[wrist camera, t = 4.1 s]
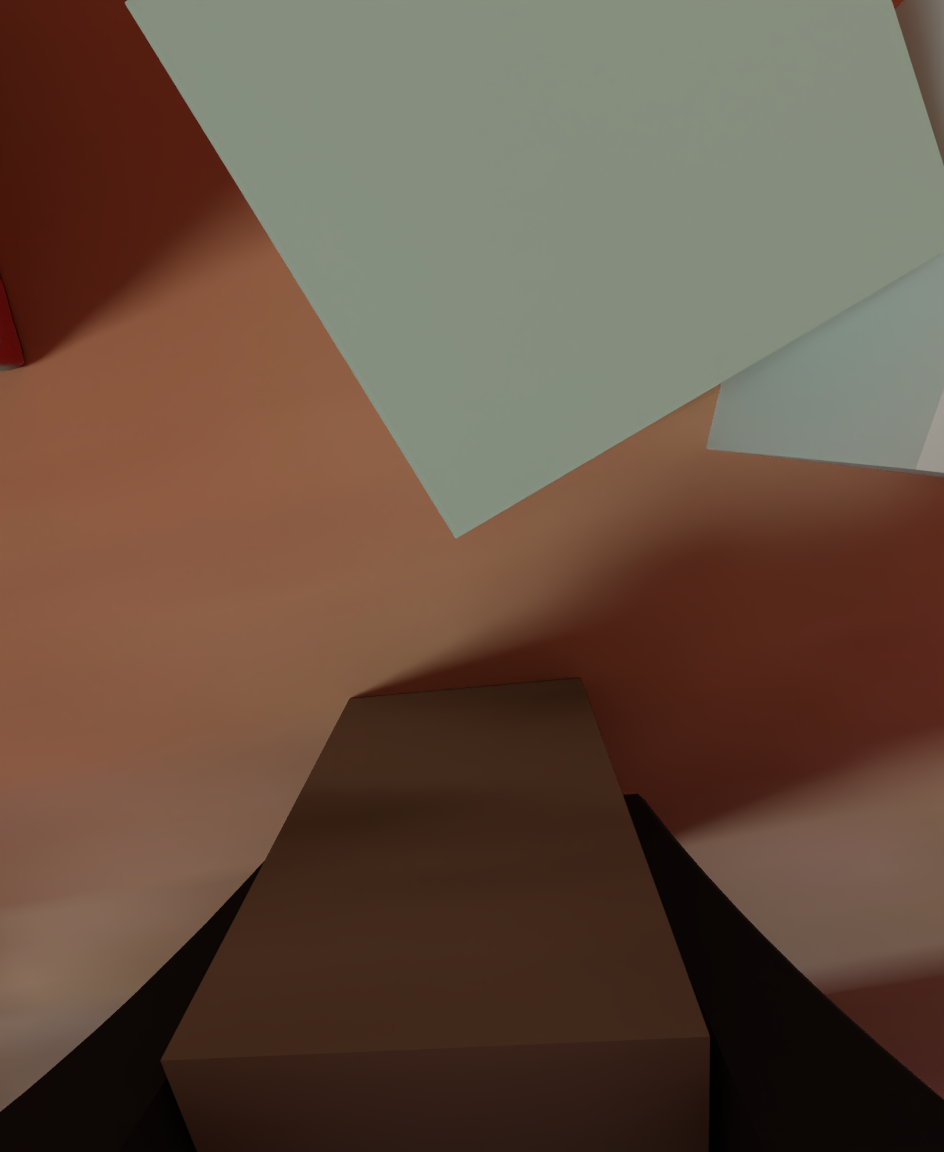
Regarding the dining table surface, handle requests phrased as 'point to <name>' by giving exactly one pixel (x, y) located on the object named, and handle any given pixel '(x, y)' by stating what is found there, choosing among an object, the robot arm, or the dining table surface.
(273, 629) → the dining table surface
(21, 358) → the stack of blocks
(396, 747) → the walnut bar
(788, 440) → the white block
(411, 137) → the sage block
